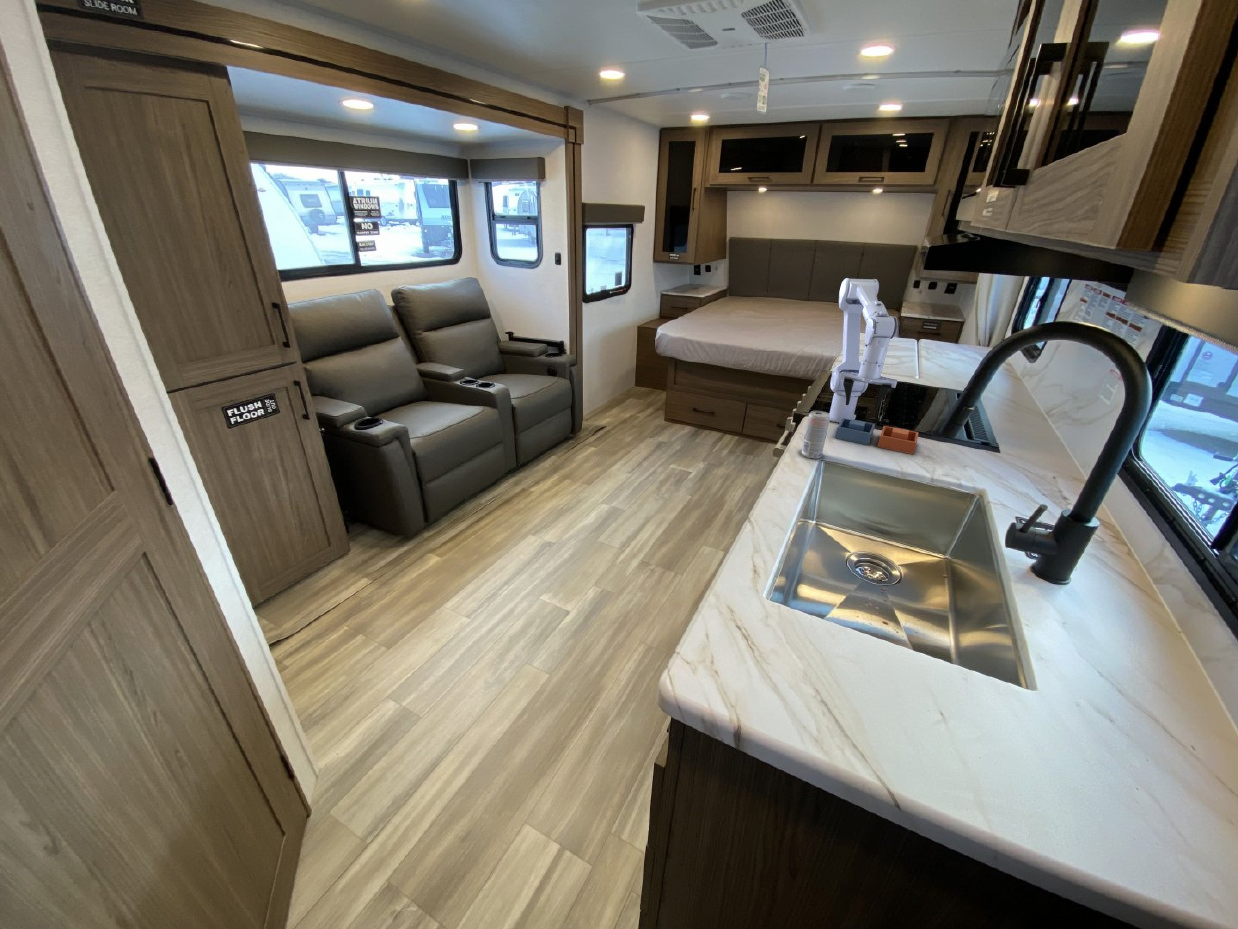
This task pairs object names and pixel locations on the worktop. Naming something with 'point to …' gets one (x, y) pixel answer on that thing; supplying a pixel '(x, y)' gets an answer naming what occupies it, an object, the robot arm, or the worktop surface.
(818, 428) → the energy drink
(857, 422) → the slate block
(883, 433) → the rust bin
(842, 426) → the slate bin
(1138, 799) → the worktop surface
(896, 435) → the rust block
